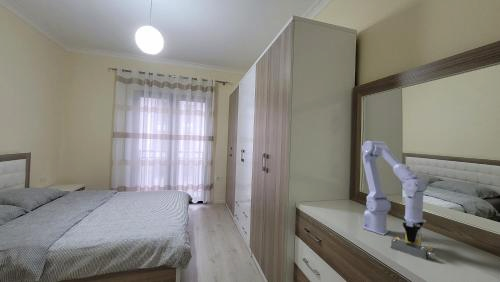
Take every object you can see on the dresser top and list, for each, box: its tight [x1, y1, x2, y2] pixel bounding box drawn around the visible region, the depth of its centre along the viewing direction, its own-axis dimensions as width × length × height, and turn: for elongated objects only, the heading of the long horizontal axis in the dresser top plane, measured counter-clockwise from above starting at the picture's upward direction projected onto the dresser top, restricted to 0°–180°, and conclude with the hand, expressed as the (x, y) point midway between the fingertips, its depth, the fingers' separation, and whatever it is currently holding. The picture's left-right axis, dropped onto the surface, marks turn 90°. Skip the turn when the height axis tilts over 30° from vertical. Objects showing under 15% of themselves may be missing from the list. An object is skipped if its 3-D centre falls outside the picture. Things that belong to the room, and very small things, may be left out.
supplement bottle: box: [404, 223, 423, 247], centre depth 89 cm, size 5×5×10 cm
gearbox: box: [390, 237, 436, 260], centre depth 83 cm, size 13×4×3 cm, turn 43°
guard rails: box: [395, 236, 434, 252], centre depth 88 cm, size 12×8×1 cm, turn 43°
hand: (412, 239), depth 89 cm, fingers open, 5 cm apart
